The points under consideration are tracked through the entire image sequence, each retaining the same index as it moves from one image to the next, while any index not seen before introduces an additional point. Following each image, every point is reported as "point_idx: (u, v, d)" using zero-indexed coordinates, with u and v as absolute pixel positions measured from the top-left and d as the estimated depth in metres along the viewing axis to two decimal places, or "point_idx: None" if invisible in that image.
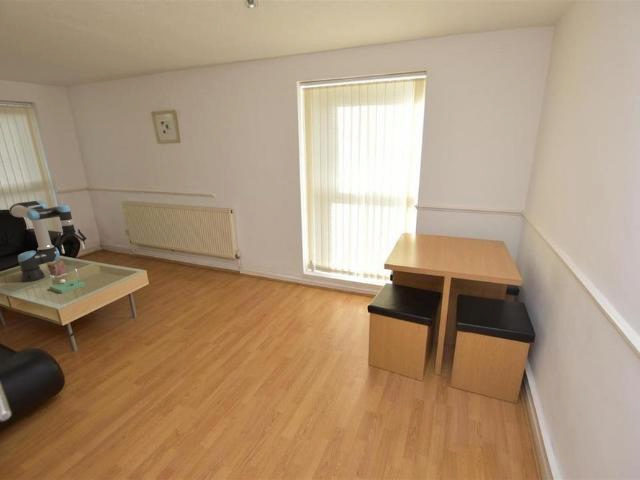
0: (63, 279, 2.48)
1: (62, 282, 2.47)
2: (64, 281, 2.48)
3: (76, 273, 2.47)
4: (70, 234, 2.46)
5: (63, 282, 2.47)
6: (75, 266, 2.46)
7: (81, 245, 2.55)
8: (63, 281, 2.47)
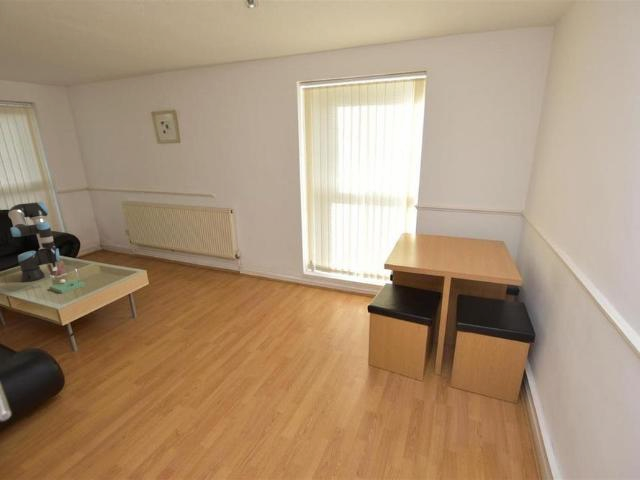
0: (63, 279, 2.48)
1: (62, 282, 2.47)
2: (64, 281, 2.48)
3: (76, 273, 2.47)
4: None
5: (63, 282, 2.47)
6: (75, 266, 2.46)
7: None
8: (63, 281, 2.47)
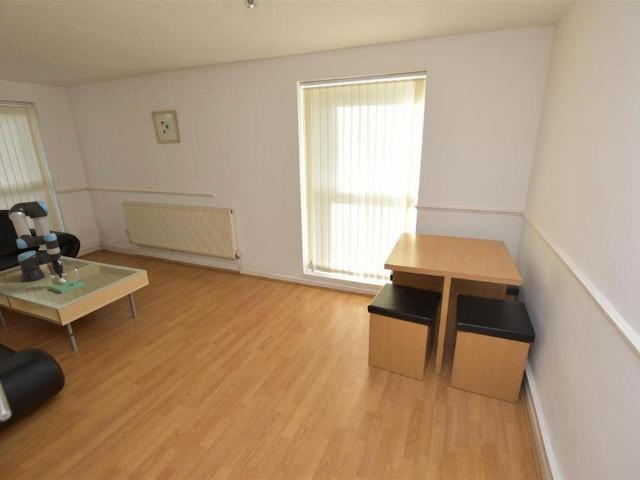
0: (64, 280, 2.47)
1: (63, 283, 2.47)
2: (65, 282, 2.48)
3: (76, 273, 2.47)
4: None
5: (63, 283, 2.47)
6: (75, 266, 2.46)
7: None
8: (64, 282, 2.47)
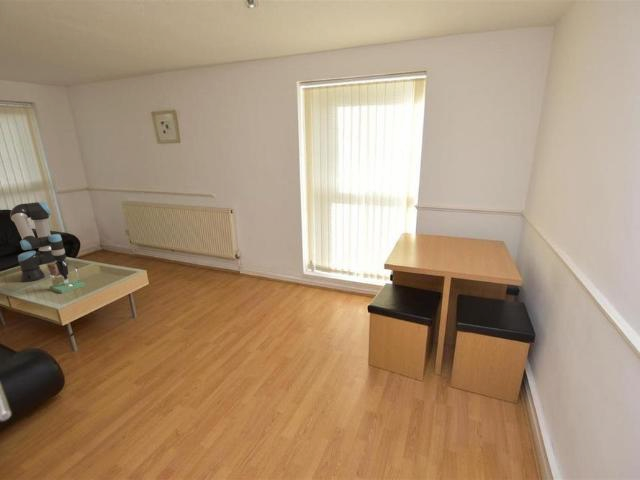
0: (72, 285, 2.44)
1: None
2: None
3: (76, 273, 2.47)
4: None
5: None
6: (75, 266, 2.46)
7: None
8: None
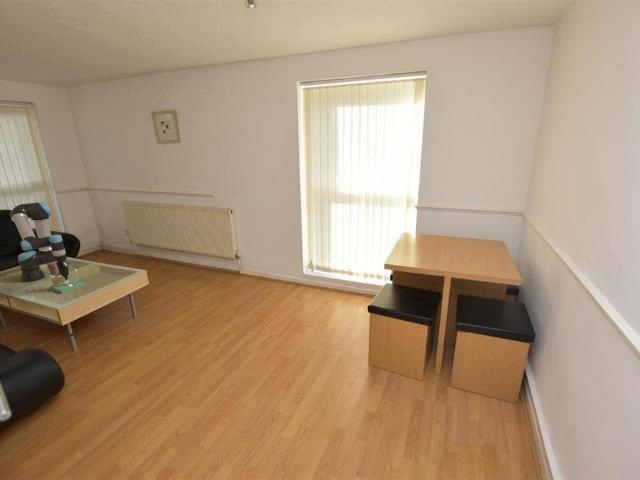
0: (72, 285, 2.44)
1: None
2: None
3: (76, 273, 2.47)
4: None
5: None
6: (75, 266, 2.46)
7: (67, 279, 2.46)
8: None
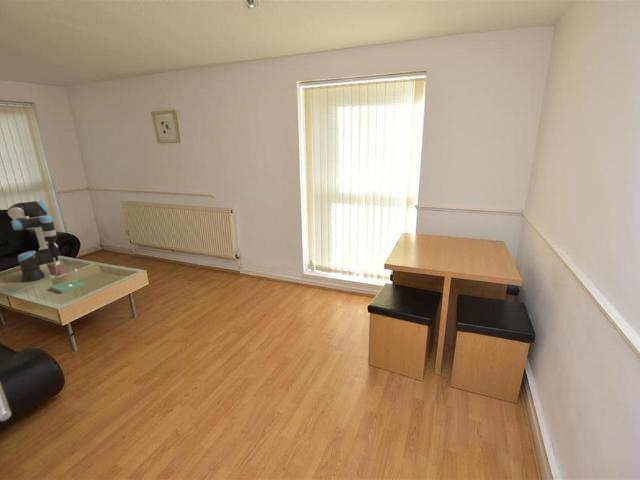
0: (72, 285, 2.44)
1: None
2: None
3: (76, 273, 2.47)
4: None
5: None
6: (75, 266, 2.46)
7: (58, 261, 2.45)
8: None
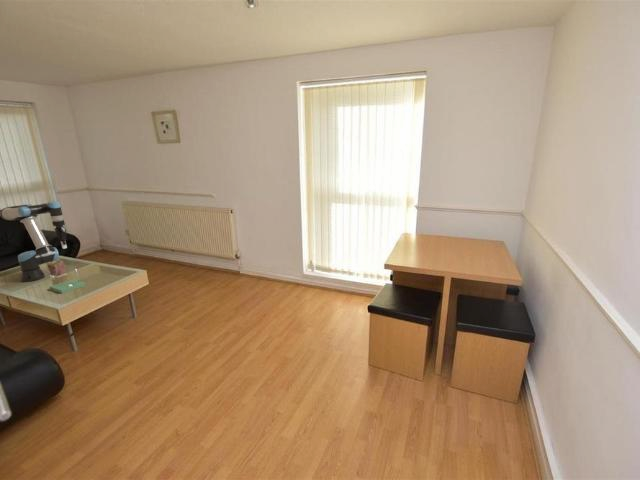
0: (72, 285, 2.44)
1: None
2: None
3: (76, 273, 2.47)
4: None
5: None
6: (75, 266, 2.46)
7: (65, 244, 2.60)
8: None
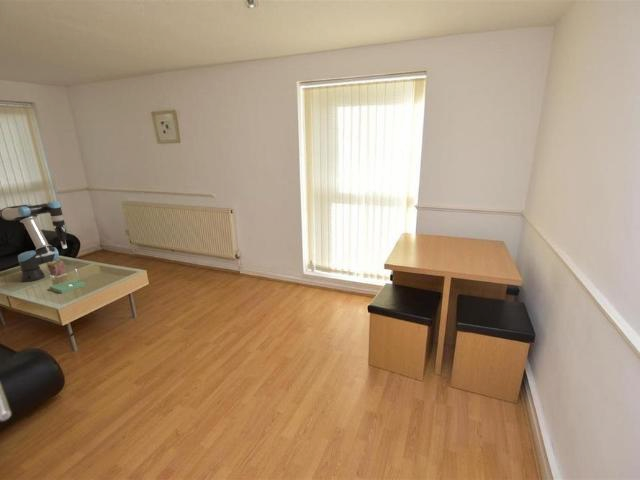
0: (71, 285, 2.44)
1: None
2: None
3: (76, 273, 2.47)
4: None
5: None
6: (75, 266, 2.46)
7: (65, 244, 2.60)
8: None
